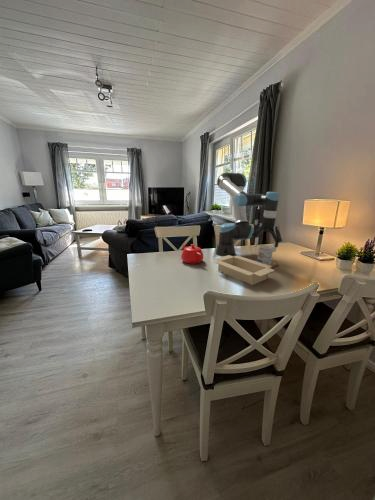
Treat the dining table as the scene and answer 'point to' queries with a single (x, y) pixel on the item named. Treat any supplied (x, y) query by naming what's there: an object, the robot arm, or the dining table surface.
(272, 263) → the board
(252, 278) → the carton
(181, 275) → the dining table surface
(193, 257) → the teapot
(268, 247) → the ink box
